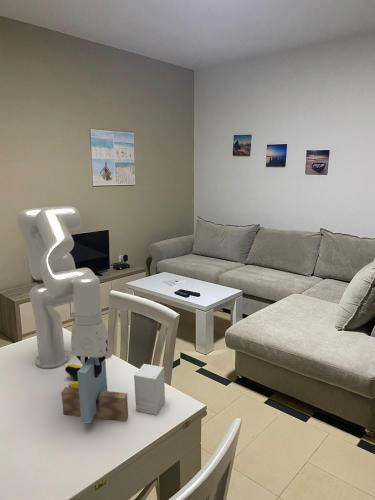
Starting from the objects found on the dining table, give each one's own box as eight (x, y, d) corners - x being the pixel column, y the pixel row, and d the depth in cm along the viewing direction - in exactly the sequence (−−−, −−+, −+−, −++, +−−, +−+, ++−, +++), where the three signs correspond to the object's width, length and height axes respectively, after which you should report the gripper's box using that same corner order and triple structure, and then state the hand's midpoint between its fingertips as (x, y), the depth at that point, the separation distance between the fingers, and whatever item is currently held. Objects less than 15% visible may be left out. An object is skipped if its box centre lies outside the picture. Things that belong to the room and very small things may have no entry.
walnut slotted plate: (63, 414, 118) (61, 391, 116) (67, 409, 120) (65, 387, 118) (125, 421, 114) (124, 398, 112) (128, 416, 117) (127, 393, 115)
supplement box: (165, 401, 124) (165, 366, 121) (156, 415, 117) (155, 379, 114) (145, 397, 126) (143, 362, 123) (134, 410, 119) (133, 374, 116)
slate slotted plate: (100, 393, 123) (97, 348, 119) (107, 393, 123) (104, 348, 119) (81, 421, 110) (77, 372, 106) (89, 422, 109) (85, 372, 106)
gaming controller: (70, 400, 125) (101, 393, 128) (69, 385, 123) (100, 378, 127) (65, 377, 138) (93, 371, 142) (64, 363, 137) (92, 357, 141)
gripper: (56, 321, 107) (61, 379, 111) (110, 324, 105) (114, 384, 109) (68, 310, 114) (73, 366, 119) (119, 313, 112) (122, 370, 116)
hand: (92, 374), depth 114 cm, fingers closed on slate slotted plate, 2 cm apart
